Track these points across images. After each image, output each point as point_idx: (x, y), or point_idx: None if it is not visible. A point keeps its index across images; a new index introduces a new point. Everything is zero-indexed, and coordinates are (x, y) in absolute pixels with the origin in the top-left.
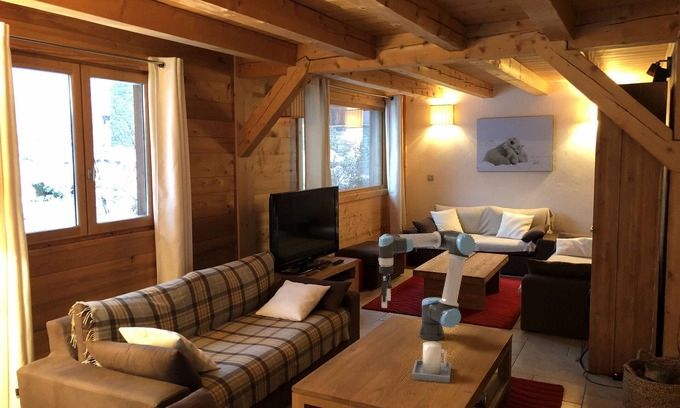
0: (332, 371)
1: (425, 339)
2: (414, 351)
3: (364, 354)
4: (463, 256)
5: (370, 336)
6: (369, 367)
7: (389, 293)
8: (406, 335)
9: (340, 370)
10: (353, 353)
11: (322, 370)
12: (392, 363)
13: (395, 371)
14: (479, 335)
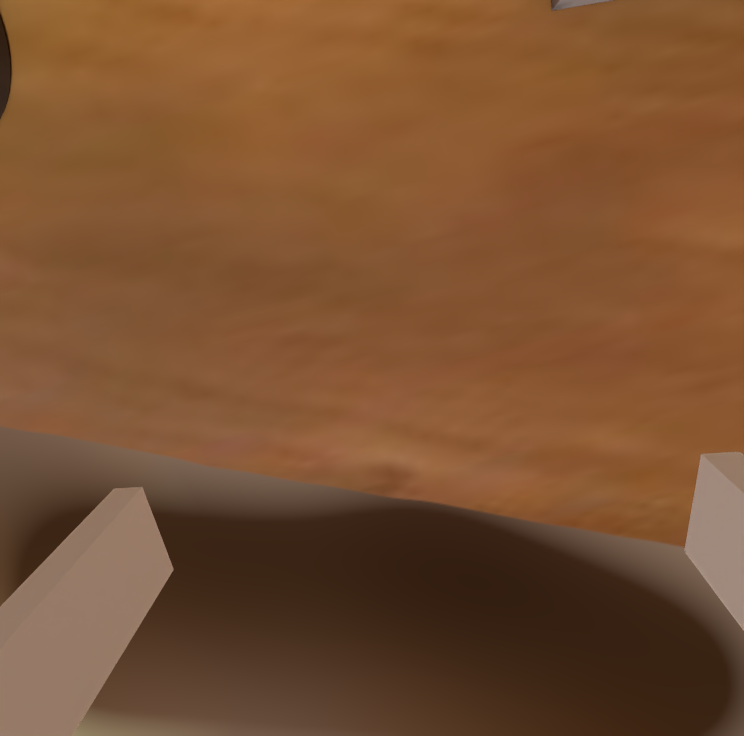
0: None
1: (9, 70)
2: (272, 99)
3: (437, 406)
4: None
5: (152, 441)
6: (637, 329)
7: (21, 656)
8: (13, 238)
9: None
10: (440, 462)
11: None
12: (542, 203)
13: (687, 143)
14: None
